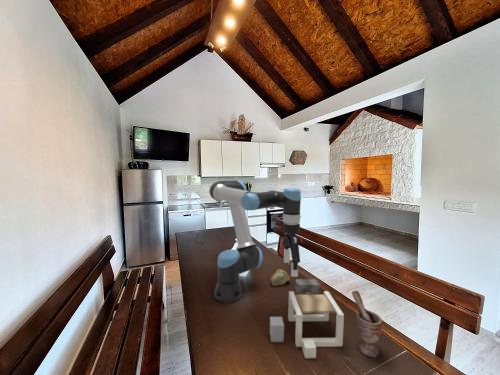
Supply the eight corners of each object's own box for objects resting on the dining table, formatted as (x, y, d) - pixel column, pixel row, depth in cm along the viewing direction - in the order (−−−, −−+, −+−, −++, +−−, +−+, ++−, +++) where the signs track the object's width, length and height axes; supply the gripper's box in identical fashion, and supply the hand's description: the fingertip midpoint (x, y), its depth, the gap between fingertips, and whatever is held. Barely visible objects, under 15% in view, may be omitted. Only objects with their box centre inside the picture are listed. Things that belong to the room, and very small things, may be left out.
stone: (271, 342, 86) (271, 325, 85) (269, 332, 91) (269, 316, 90) (283, 341, 86) (284, 325, 85) (281, 332, 91) (281, 316, 90)
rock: (276, 293, 128) (271, 282, 123) (269, 283, 135) (264, 272, 131) (292, 282, 130) (288, 271, 126) (284, 273, 138) (280, 262, 134)
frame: (296, 346, 83) (297, 315, 82) (288, 318, 99) (288, 291, 98) (342, 346, 84) (344, 314, 83) (327, 318, 100) (328, 291, 98)
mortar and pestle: (343, 343, 85) (345, 295, 83) (352, 332, 91) (354, 287, 89) (375, 362, 77) (378, 309, 75) (383, 349, 83) (386, 299, 81)
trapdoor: (301, 312, 85) (302, 303, 85) (291, 287, 103) (292, 279, 103) (334, 312, 85) (334, 303, 85) (318, 287, 103) (319, 279, 103)
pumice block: (305, 358, 78) (305, 348, 78) (302, 349, 82) (302, 339, 82) (315, 358, 78) (316, 348, 78) (312, 349, 82) (312, 339, 82)
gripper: (309, 230, 84) (307, 282, 86) (292, 216, 109) (291, 257, 111) (290, 231, 84) (289, 283, 85) (277, 216, 108) (276, 257, 110)
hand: (290, 268), depth 98 cm, fingers open, 13 cm apart
